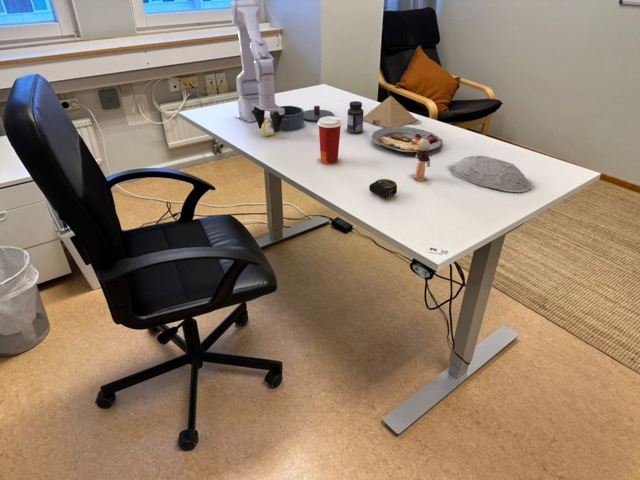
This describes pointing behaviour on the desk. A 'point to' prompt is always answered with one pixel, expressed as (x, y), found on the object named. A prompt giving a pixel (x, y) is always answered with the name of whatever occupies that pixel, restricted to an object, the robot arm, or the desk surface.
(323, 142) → the paper cup
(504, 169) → the grey oval dome
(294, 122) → the pot
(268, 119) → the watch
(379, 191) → the tape measure
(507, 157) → the desk surface
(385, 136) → the food plate
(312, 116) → the lid
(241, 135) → the desk surface
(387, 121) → the model pyramid
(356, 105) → the pill bottle
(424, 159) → the grandmother figurine
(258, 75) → the robot arm
